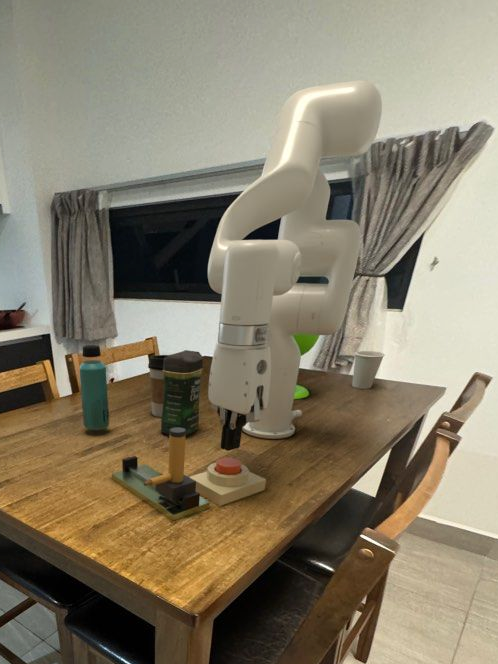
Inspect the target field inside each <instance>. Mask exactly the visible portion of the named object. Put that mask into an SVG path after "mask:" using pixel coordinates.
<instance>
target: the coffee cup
mask: <svg viewBox="0 0 498 664" xmlns="http://www.w3.org/2000/svg"><path fill="white" fill-rule="evenodd" d="M168 355H169V354H158V355H152V356H150V357H149V363H148V364H147V365H148V366H147V368H148V369H149V375H148V377H149V389H150V400H151V414H152V415H153V416H155V417H158V418H162V409H163V395H164V375H163V364H164V358H165V357H167V356H168Z"/></svg>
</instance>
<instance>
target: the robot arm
mask: <svg viewBox="0 0 498 664" xmlns="http://www.w3.org/2000/svg"><path fill="white" fill-rule="evenodd" d="M382 104H383V102H382V95H381V92H380V90H379V89H378V87H377V86H376V85H375V84H374V83H373V82H370V81H369V80H362V79H359V80H358V79H357V80H350V81H349V80H348V81H342V82H335V83H329V84H322V85H315V86H310V87H305V88H303V89H300V90H297V91H296V92H294V93H293V94H292V95H290V96H289V97H288V98H287V99H286V101H285V102H284V103H283V105H282V107H281V109H280V111H279V114H278V118H277V121H276V124H275V127H274V130H273V134H272V137H271V141H270V144H269V149H268V152H267V155H266V158H265V162H264V164H263V168H262V173H261V176H259V178H257V179H256V180H255V181H253V182H252V183H251V184H250V185H248V187H246V188H245V189H244V190H243V192H241V193H240V194H239V195H238V196H237V198H235V200H234V201H233V202H232V203H231V204H230V205H229V206H228V207H227V209H226V210H225V211H224V213H223V215H222V217H221V219H220V221H219V223H218V225H217V228H216V233H215V236H214V238H213V243H212V246H211V249H210V253H209V257H208V263H207V279H208V284H209V286H210V288H211V289H212V290H213V292H215V293H217V294H220V295H221V298H220V299H221V300H220V309H219V322H218V331H217V332H218V333H217V342H216V343H215V347H214V350H213V355H212V360H211V363H210V364H211V365H210V371H209V379H208V388H207V389H208V393H207V394H208V397H207V398H208V400H209V402H210V408H211V409H212V410H213V411H215V412H216V413H217V415H218V417H219V424H220V425H221V426H222V429H221V437H220V449H222V450H225V451H227V452H230V451H233V450H236V449H239V448H240V447H241V441H242V434H243V433H242V432H244V433H245V434H247V435H249V436H252V437H255V438H261V439H268V440H269V439H270V440H275V439H277V440H278V439H286V438H289V437H291V436H292V435H294V434H295V430H296V426H295V425H294V424H293V423H292V421H294V420H295V419H299V418H301V417H302V416H303V411H302V410H301V409H295V410H293V405H294V400H295V399H294V394H295V388H296V385H297V382H298V378H299V377H298V376H299V371H300V365H301V360H302V356H301V353H300V349H299V347H298V345H297V343H296V341H295V340H294V338H293V336H292V335H293V334H307V335H320V336H331V335H334V334H336V333H338V331H339V330H340V329H341V328H342V325H343V322H344V320H345V316H346V312H347V309H348V303H349V299H350V296H351V290H352V285H353V282H354V276H355V273H356V267H357V264H358V258H359V254H360V248H361V239H362V234H361V228H360V225H359V224H358V223H357V221H354V220H351V219H327V212H328V208H329V206H328V205H329V202H330V197H331V186H330V183H329V181H328V179H327V177H326V175H325V173H324V172H323V170H322V169H321V167H320V164H321V160H322V159H331V158H342V157H343V158H344V157H353V156H361V155H364V154H366V153H367V152H368V151H369V149H370V148H371V147H372V145H373V143H374V141H375V139H376V136H377V134H378V132H379V128H380V123H381V119H382V109H383V105H382ZM279 219H280V224H279V230H278V236H277V239H245V238H246V237H247V236H248V235H249V234H250V233H252V232H254V231H256V230H257V229H259V228H261V227H263V226H265V225H268V224H270V223H272V222H275V221H277V220H279ZM300 277H314V278H315V277H324V278H326V279H327V280H328V283H307V282H298V280H299V278H300Z"/></svg>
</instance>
